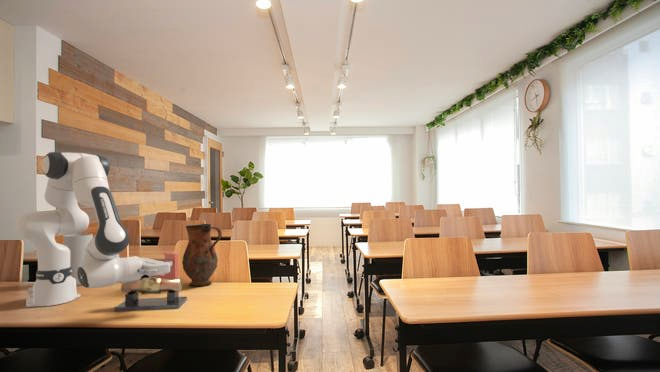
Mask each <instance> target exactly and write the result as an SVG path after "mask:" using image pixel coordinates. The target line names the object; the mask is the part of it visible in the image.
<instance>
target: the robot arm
mask: <svg viewBox="0 0 660 372" xmlns="http://www.w3.org/2000/svg"><path fill="white" fill-rule="evenodd" d="M41 168H42V172H43V174H44V175H45V176H46V177H47V178H48V179H47V184H46V188H45V192H44V200H45V201H46V203H47V204H48V205H50V206H51V207H54V208H57V209H55V210H38V211H37V210H36V211H31V212H26V213H22V214H20V215H19V216H18V218H17V219H16V221H15V224H14V228H15V230H16V232H17V234H18V235H19V236H21V237H22V238H24V239H25V240H27V241H29V242H30V243H31V244H32V246H33V247H34V249H35V251H36V255H37V270H36V272H35V273H36V274H35V278H36V280H35V282H34V283H33V284H32V285H33V286H32V287H28V289H27V294H28V295H29V296H28V297H26V299H25V307H26V308H31V307H32V308H33V307H49V306H56V305H60V304H65V303H68V302H72V301H74V300H76V299H78V298H80V297H81V293H78V292H77V286H76V280H75V278H73V277H72V276H71V275H72V267H71V266H70V249H69V248H68V247H67V246H65V245H63V243H58V242H57V241H56V239H55V238H56V237H57V236H58V237H59V236H64V235H71V234H81V233H83V232H85V231H86V230H87V229H88V228H89V225H90V217H89V215H88V214H87V212H85V211H84V210H82V209H81V208H80V206H79V204H81V205H82V206H85V207H91V208H92V207H93V209H94V213H95V216H96V220H97V223H98V227H97V231H96V234H95V235H93V239H92V240H91V241H90V242H89V244H88V245H87V247H86V249H85V255H84V259H83V261H82V263H81V265H80V266H79V268H78V270H77V276H78V280H79V282H80V284H81V285H80V286H83V287H84V288H87V289H98V288H104V287H105V288H106V287H111V286H113V285H115V284H122V283H127V282H133V281H138V280H142V279H141V278H142V277H143V276H145V275H146V276H148V277H149V276H153V275H160V274H167V273H169V272H170V266H172V265H173V262H172V261H168V260H165V259H164V260H157V259H152V258H149V257H140V256H137V255H134V256H126V257H120V253H121V252H123V251H124V250H126V248H128V246H129V245H130V240H131V237H130V233H129V232H128V230H127V228H126V227H125V226H124V224H123V223H122V221H121V218H120V215H119V212H118V209H117V206H116V203H115V200H114V196H113V194H112V191H111V190H110V187H109V181H108V175H109V174H110V168H111V167H110V161H109V160H108V158H107V157H106V156H104V155H99V154H96V155H95V154H92V153H91V154H90V153H85V152H70V151H69V152H68V151H67V152H61V151H51V152H48V153H47V154H46V155H45V156H44V157H43V160H42V163H41Z"/></svg>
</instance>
